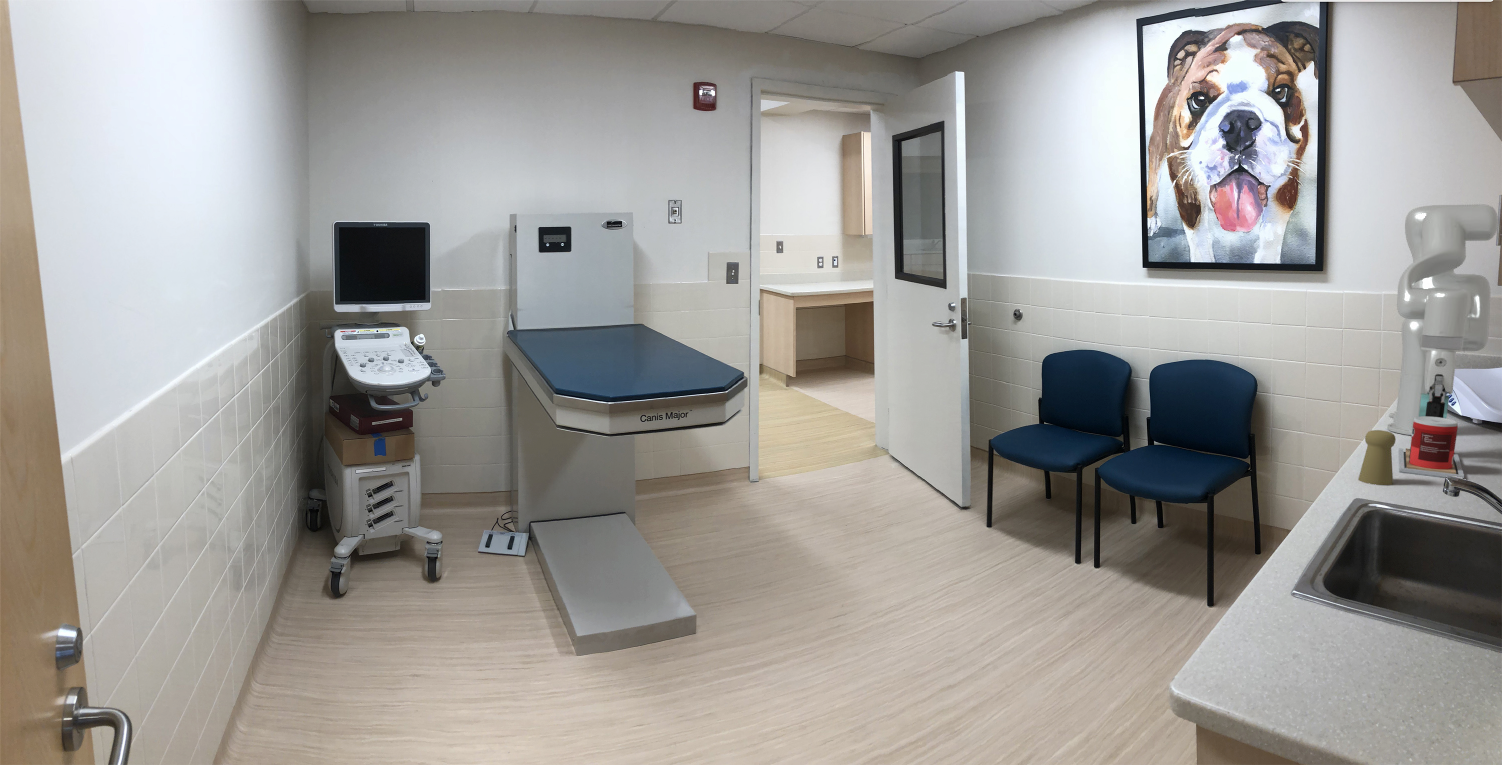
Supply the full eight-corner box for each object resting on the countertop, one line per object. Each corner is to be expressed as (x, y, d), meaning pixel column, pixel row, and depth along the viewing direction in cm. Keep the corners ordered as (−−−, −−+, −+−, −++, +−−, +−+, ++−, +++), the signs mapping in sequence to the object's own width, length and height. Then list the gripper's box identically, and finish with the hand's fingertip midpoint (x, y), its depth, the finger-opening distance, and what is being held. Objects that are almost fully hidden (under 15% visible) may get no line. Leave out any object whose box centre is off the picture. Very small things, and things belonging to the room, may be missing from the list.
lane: (1463, 479, 183) (1464, 475, 183) (1399, 472, 189) (1399, 468, 189) (1457, 458, 200) (1457, 454, 200) (1398, 451, 207) (1399, 448, 207)
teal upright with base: (1455, 474, 185) (1463, 411, 183) (1406, 468, 190) (1413, 406, 188) (1450, 454, 202) (1458, 396, 200) (1405, 449, 207) (1412, 392, 205)
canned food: (1430, 462, 196) (1436, 415, 194) (1461, 472, 188) (1468, 423, 186) (1398, 463, 195) (1404, 416, 193) (1428, 473, 187) (1435, 424, 185)
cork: (1381, 486, 179) (1387, 435, 177) (1351, 479, 184) (1357, 429, 182) (1399, 483, 181) (1405, 432, 179) (1369, 476, 187) (1374, 426, 185)
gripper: (1465, 347, 189) (1456, 424, 191) (1460, 342, 202) (1451, 413, 205) (1422, 345, 193) (1413, 420, 195) (1420, 340, 207) (1412, 410, 209)
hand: (1433, 416), depth 200 cm, fingers open, 9 cm apart
